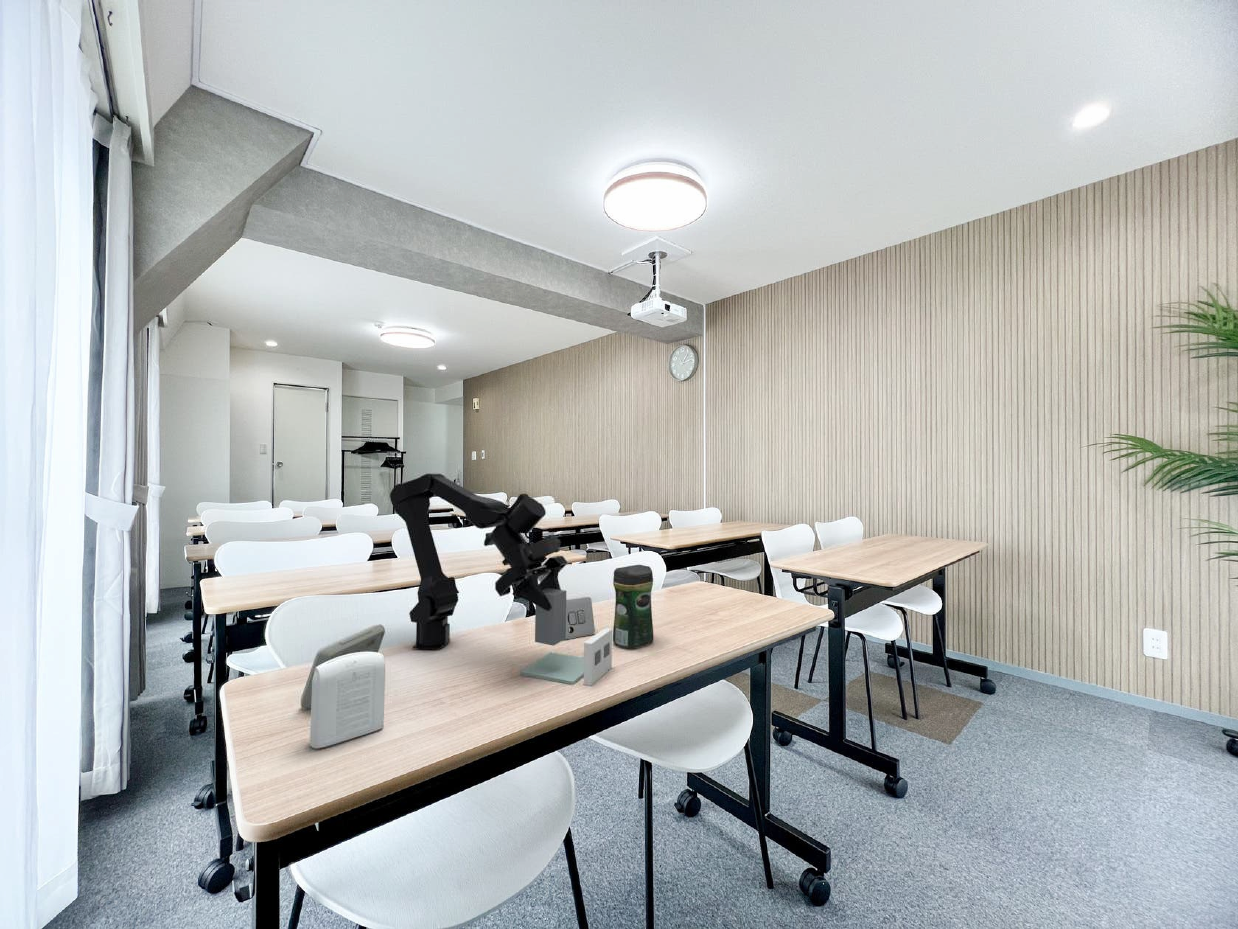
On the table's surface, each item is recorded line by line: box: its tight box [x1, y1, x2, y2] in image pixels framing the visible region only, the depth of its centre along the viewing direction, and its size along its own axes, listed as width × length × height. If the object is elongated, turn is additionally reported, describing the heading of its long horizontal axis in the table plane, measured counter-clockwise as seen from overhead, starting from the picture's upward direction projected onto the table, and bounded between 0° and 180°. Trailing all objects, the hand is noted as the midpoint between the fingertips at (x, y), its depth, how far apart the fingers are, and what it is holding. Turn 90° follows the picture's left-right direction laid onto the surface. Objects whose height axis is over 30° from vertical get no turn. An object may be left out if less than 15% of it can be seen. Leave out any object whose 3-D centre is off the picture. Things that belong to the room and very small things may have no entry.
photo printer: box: [309, 651, 386, 750], centre depth 77 cm, size 10×4×12 cm, turn 134°
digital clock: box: [300, 624, 386, 710], centre depth 92 cm, size 16×9×11 cm, turn 157°
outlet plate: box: [583, 627, 613, 687], centre depth 101 cm, size 2×10×8 cm, turn 157°
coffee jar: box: [612, 564, 654, 649], centre depth 120 cm, size 10×8×19 cm
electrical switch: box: [565, 596, 596, 640], centre depth 126 cm, size 9×5×9 cm, turn 121°
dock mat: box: [519, 651, 584, 686], centre depth 104 cm, size 12×12×1 cm
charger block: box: [534, 588, 567, 647], centre depth 103 cm, size 5×4×10 cm
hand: (556, 606), depth 102 cm, fingers closed on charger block, 4 cm apart
